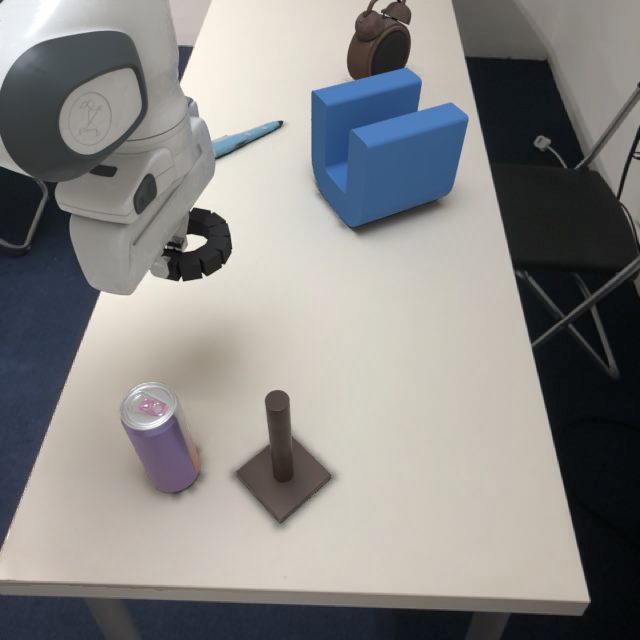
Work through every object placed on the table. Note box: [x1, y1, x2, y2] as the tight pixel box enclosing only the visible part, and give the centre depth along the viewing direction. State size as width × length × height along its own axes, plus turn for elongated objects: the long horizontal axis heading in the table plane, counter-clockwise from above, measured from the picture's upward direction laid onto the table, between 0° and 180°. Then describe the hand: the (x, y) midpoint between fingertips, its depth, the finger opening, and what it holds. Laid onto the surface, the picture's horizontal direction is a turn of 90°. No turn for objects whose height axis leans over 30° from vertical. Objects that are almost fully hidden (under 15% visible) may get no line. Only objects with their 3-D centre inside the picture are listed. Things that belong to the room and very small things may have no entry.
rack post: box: [235, 389, 332, 524], centre depth 61 cm, size 8×8×17 cm
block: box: [310, 67, 470, 228], centre depth 96 cm, size 18×18×18 cm
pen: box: [211, 120, 284, 159], centre depth 112 cm, size 19×3×3 cm, turn 132°
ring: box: [149, 206, 233, 283], centre depth 62 cm, size 10×10×2 cm
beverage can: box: [119, 381, 201, 493], centre depth 62 cm, size 6×6×15 cm
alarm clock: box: [346, 0, 413, 81], centre depth 120 cm, size 15×7×20 cm, turn 132°
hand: (170, 261), depth 59 cm, fingers closed on ring, 2 cm apart
